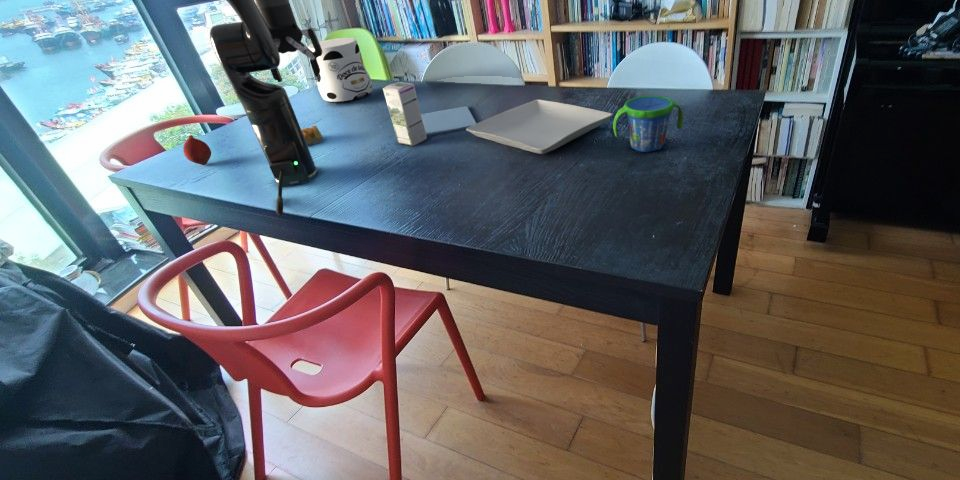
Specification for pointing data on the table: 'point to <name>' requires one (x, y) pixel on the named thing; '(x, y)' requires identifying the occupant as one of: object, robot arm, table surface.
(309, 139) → the pastry
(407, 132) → the syrup box
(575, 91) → the table surface
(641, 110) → the snack cup
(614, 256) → the table surface
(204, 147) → the onion
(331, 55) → the doce de leite tin
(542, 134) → the square plate
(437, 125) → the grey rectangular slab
